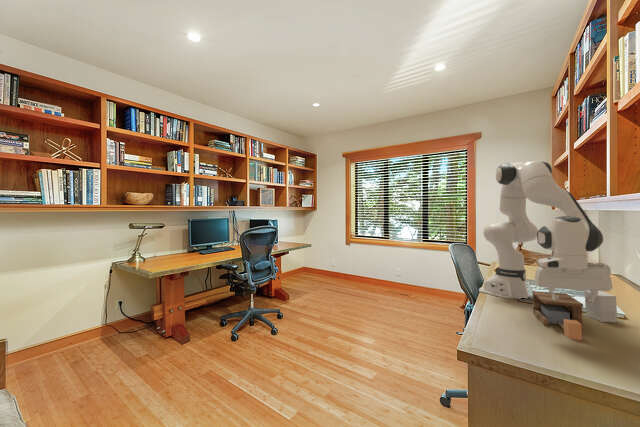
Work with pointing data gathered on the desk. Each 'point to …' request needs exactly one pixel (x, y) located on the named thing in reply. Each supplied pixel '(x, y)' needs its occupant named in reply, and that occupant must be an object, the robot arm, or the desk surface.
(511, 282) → the robot arm
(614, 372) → the desk surface
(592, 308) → the small box
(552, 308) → the cube on a stick
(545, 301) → the shelf
